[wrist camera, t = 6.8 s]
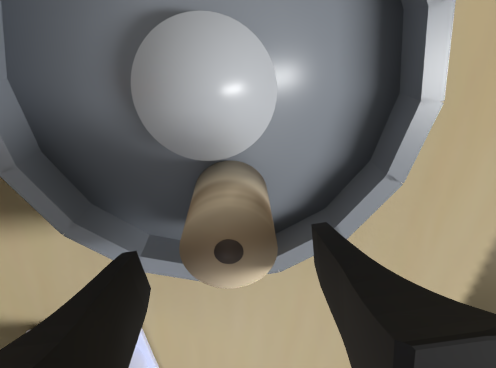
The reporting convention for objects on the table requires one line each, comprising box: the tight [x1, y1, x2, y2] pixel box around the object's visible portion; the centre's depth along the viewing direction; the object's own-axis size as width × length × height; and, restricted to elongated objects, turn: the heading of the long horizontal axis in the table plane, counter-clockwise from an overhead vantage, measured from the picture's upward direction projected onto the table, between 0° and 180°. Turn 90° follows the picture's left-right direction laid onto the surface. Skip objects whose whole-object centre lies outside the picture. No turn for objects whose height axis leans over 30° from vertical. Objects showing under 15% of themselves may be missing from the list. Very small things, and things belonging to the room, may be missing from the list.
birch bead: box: [179, 161, 278, 288], centre depth 15 cm, size 4×4×5 cm
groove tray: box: [0, 0, 456, 281], centre depth 14 cm, size 20×20×3 cm
